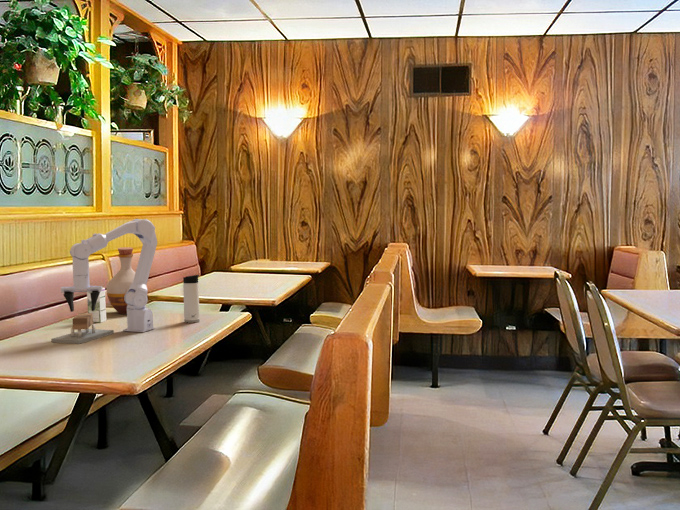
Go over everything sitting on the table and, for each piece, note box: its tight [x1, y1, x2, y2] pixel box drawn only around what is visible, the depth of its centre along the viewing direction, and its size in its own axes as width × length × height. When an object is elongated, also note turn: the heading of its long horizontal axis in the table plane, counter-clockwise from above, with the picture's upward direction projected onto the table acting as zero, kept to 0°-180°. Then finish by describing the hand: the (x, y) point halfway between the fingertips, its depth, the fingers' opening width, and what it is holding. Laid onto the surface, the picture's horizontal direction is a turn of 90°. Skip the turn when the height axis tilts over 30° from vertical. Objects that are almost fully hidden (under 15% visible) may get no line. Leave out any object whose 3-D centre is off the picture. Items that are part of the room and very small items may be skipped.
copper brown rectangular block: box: [71, 312, 94, 331], centre depth 252 cm, size 12×5×4 cm, turn 11°
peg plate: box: [51, 324, 115, 345], centre depth 252 cm, size 12×20×4 cm, turn 162°
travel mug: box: [182, 274, 200, 324], centre depth 282 cm, size 6×7×20 cm
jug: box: [105, 246, 148, 315], centre depth 308 cm, size 20×18×30 cm
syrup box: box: [86, 287, 107, 324], centre depth 285 cm, size 6×6×14 cm
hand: (82, 311), depth 253 cm, fingers open, 7 cm apart
